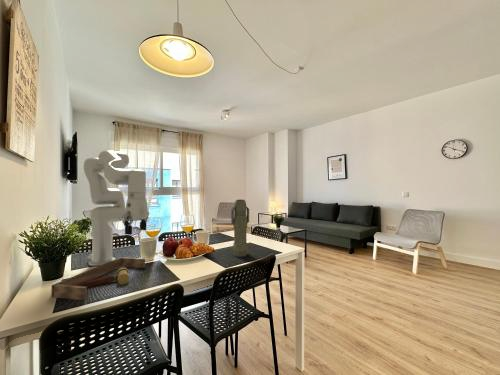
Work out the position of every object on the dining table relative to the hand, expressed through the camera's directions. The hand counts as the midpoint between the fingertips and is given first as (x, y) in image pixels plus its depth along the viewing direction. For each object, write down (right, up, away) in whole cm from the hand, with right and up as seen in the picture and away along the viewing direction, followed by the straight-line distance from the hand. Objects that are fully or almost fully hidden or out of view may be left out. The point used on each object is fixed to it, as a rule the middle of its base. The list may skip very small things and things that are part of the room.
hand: (136, 232), depth 102 cm
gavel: (-11, -22, -8) cm, 26 cm away
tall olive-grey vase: (+48, -22, +35) cm, 63 cm away
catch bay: (-12, -21, -3) cm, 24 cm away
